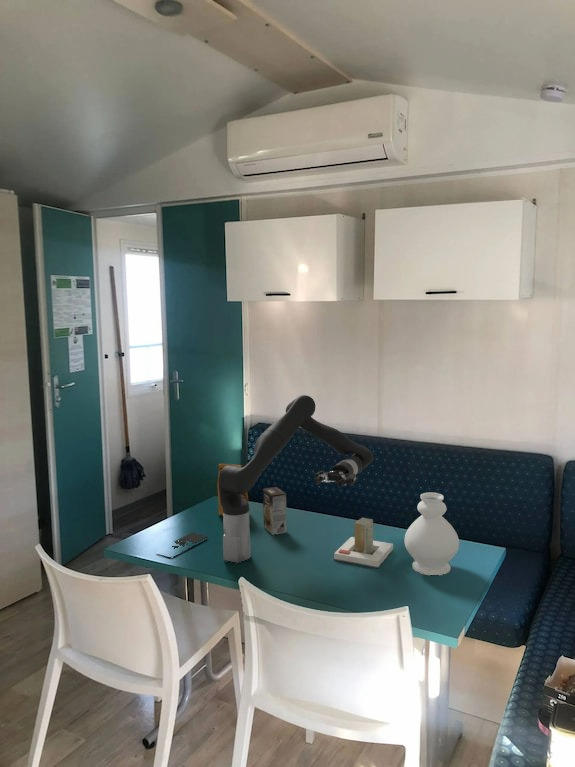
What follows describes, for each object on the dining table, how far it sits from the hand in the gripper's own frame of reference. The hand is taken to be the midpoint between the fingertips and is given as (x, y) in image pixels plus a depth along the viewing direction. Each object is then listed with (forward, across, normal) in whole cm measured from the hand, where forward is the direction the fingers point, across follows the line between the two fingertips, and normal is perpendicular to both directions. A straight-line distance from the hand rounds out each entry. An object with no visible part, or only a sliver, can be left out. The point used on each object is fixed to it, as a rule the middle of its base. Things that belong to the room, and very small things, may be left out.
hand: (327, 483), depth 224 cm
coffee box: (-12, -28, +26) cm, 40 cm away
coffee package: (-20, -52, +26) cm, 62 cm away
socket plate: (-4, +12, +26) cm, 29 cm away
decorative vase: (-4, +36, +26) cm, 45 cm away
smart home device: (+16, -52, +27) cm, 61 cm away
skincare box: (-4, +12, +26) cm, 29 cm away
